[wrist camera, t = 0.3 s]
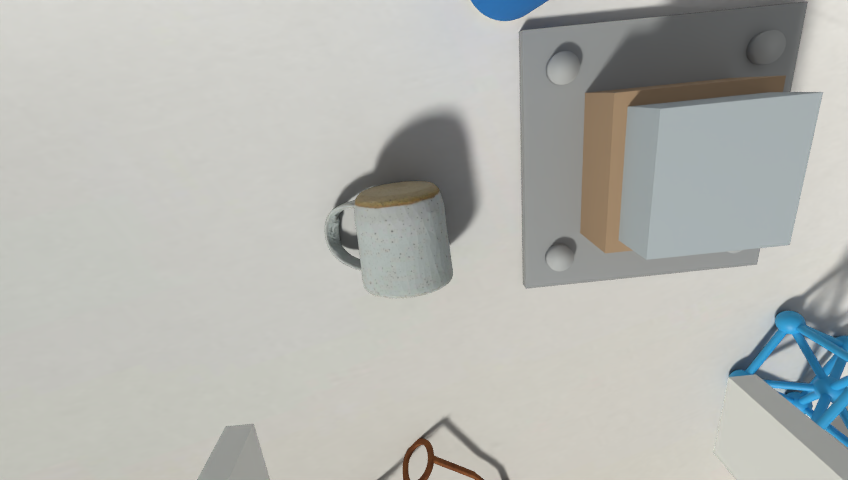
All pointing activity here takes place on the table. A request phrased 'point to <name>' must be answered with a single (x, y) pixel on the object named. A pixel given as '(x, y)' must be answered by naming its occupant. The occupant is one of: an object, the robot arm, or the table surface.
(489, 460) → the table surface
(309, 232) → the table surface
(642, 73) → the tower base
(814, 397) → the molecular structure
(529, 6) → the beverage can
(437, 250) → the ceramic mug
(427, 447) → the glasses
